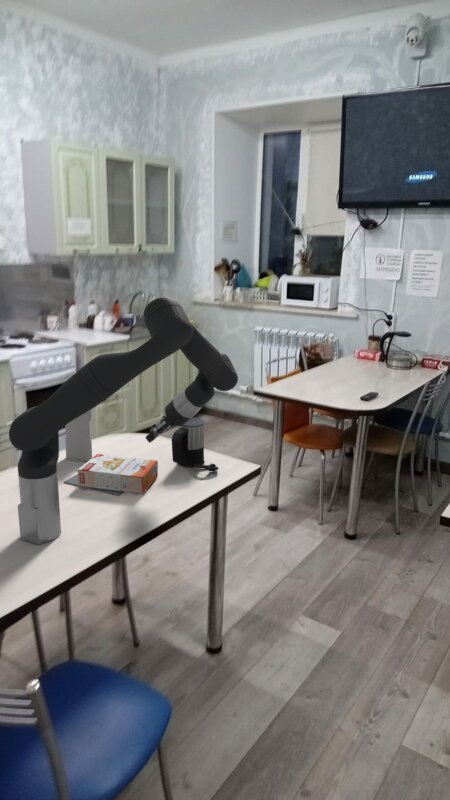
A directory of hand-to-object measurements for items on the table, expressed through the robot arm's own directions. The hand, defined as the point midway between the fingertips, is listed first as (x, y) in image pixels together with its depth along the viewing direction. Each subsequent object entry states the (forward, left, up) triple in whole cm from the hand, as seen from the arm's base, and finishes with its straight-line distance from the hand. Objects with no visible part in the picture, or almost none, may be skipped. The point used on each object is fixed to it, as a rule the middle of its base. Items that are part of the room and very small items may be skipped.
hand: (148, 439), depth 171 cm
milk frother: (+20, -7, -15) cm, 26 cm away
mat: (0, +14, -15) cm, 20 cm away
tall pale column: (+6, +32, -15) cm, 36 cm away
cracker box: (-1, -1, -11) cm, 12 cm away
